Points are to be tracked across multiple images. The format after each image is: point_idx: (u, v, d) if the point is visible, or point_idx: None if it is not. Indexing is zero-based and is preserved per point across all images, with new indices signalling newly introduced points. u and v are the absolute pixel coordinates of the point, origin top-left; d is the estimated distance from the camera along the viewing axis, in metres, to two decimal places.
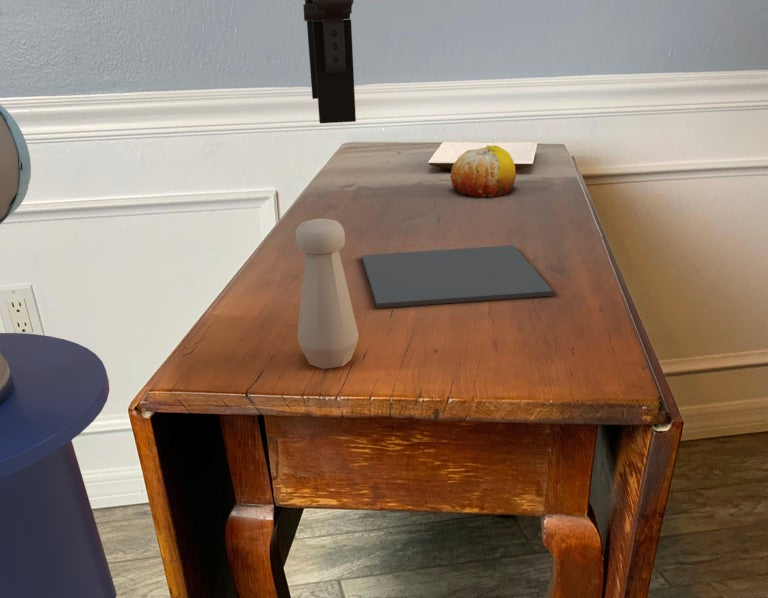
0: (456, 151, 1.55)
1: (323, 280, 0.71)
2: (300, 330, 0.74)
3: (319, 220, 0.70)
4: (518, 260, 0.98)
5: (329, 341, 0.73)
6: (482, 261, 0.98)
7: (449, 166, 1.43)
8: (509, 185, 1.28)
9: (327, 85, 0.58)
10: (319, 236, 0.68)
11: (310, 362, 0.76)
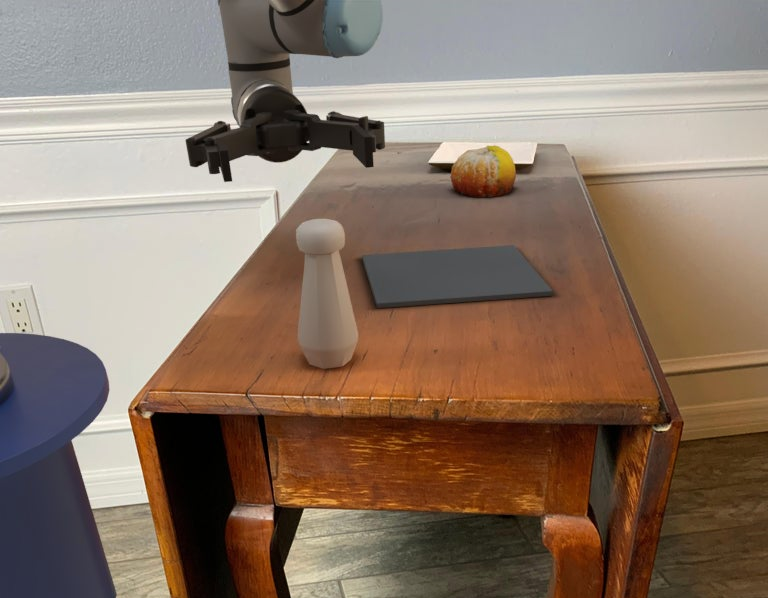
0: (456, 151, 1.55)
1: (323, 280, 0.71)
2: (300, 330, 0.74)
3: (319, 220, 0.70)
4: (518, 260, 0.98)
5: (329, 342, 0.73)
6: (482, 261, 0.98)
7: (449, 166, 1.43)
8: (509, 185, 1.28)
9: None
10: (319, 236, 0.68)
11: (310, 362, 0.76)
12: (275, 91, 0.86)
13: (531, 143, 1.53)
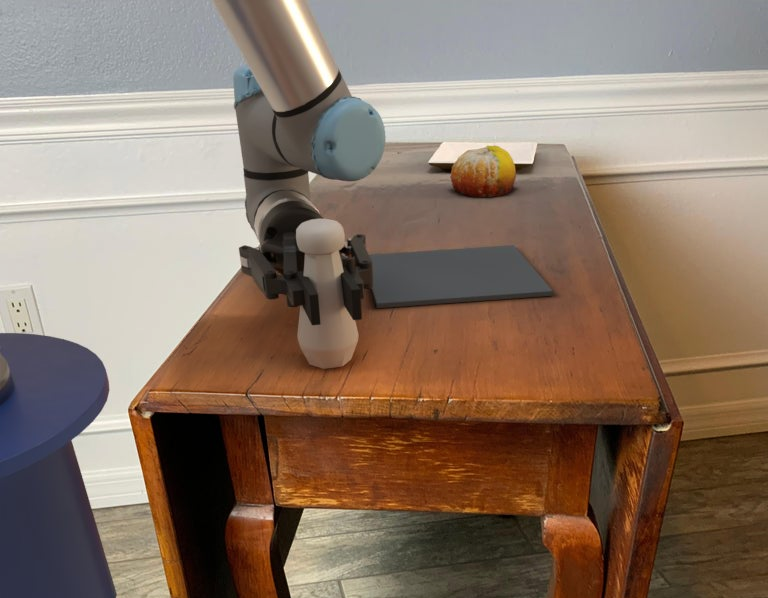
0: (456, 151, 1.55)
1: (323, 280, 0.71)
2: (300, 330, 0.74)
3: (319, 220, 0.70)
4: (518, 260, 0.98)
5: (329, 342, 0.73)
6: (482, 261, 0.98)
7: (449, 166, 1.43)
8: (509, 185, 1.28)
9: None
10: (319, 236, 0.68)
11: (310, 362, 0.76)
12: (298, 209, 0.82)
13: (531, 143, 1.53)
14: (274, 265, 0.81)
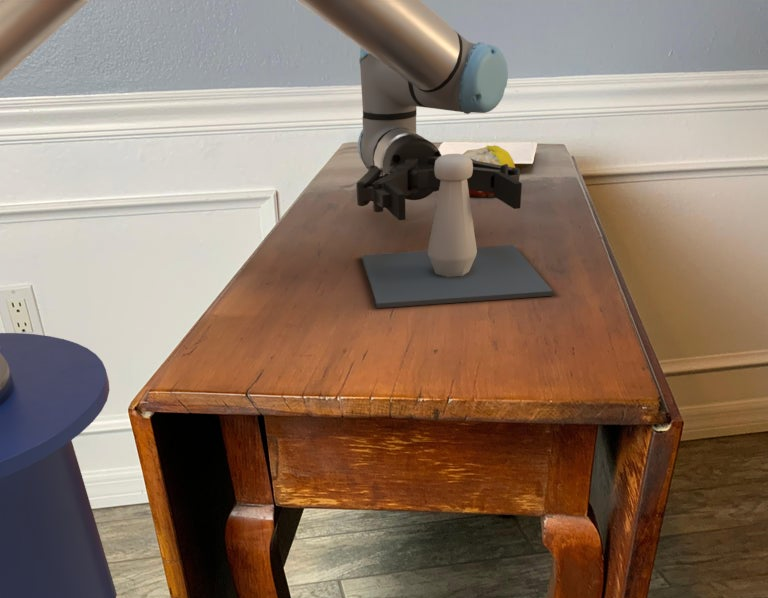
0: (456, 151, 1.55)
1: (453, 202, 0.89)
2: (431, 244, 0.93)
3: (453, 154, 0.89)
4: (518, 260, 0.98)
5: (454, 253, 0.92)
6: (482, 261, 0.98)
7: None
8: None
9: None
10: (453, 165, 0.87)
11: (436, 272, 0.95)
12: (419, 140, 1.00)
13: (531, 143, 1.53)
14: None
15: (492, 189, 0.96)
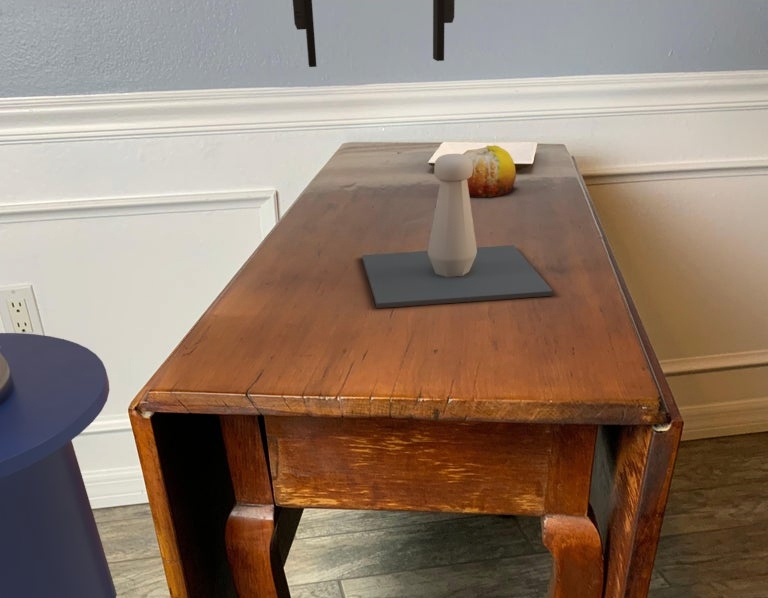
0: (456, 151, 1.55)
1: (453, 202, 0.89)
2: (431, 244, 0.93)
3: (453, 154, 0.89)
4: (518, 260, 0.98)
5: (454, 253, 0.92)
6: (482, 261, 0.98)
7: None
8: (509, 185, 1.28)
9: None
10: (453, 165, 0.87)
11: (436, 272, 0.95)
12: None
13: (531, 143, 1.53)
14: None
15: None
